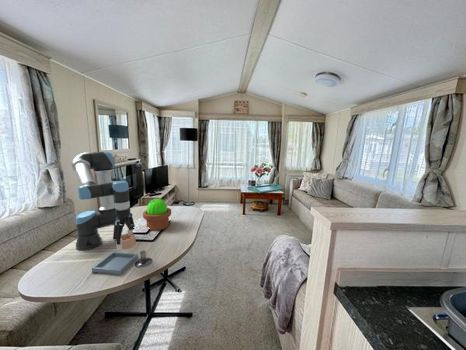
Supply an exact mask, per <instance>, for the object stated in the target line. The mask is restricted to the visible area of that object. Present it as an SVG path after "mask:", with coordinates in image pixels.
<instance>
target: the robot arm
mask: <svg viewBox="0 0 466 350" xmlns="http://www.w3.org/2000/svg"><path fill="white" fill-rule="evenodd" d="M115 162H116V161H115V159H114V156H113V154H112V153H111V152H109V151H92V152H89V151H88V152H83V153H80V154H78V155H76V156H75V157H74V158H73V159H72V162H71V168H72V170H73V171H74V172H75V173H76V174H75V175H76V177H77V179H78V182H79V185H80V186H78V187H77V195H78V198H79V199H80V200H92V199H97V198H99V203H100V207H99V208H98V211H97V212H96V211H95V210H88V211H83V212H81V213H79V214H78V215H76V217H75V226H76V232H77V237H76V238H77V239H76V242H75V249H76V250H79V251H87V250H92V249H94V248H96V247H98V246H100V245H101V244H102V243H103V241H102V237H101V235H100V234H99V229H102V228H106V227H110V226H113V236H112V239H113V240H115V243H116V242H117V246H116V248H117V250H124V249H123V246H122V238H121V235H123V229H124V227H127V228H128V229H127V233H130V234H134V232H133V231H134V230H135V227H136V226H135V222H134V219H133V213H132V212H131V205H130V203H131V202H130V192H129V191H130V189H129V188H130V187H129V183H128V181H126V180H112V174H111V172H112V171H113V168H115V166H116V165H115V164H116V163H115ZM91 170H93V172H94V173H95V174H96V180H97V183H96V180H95V178H94V175H93V173H92V171H91Z"/></svg>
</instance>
